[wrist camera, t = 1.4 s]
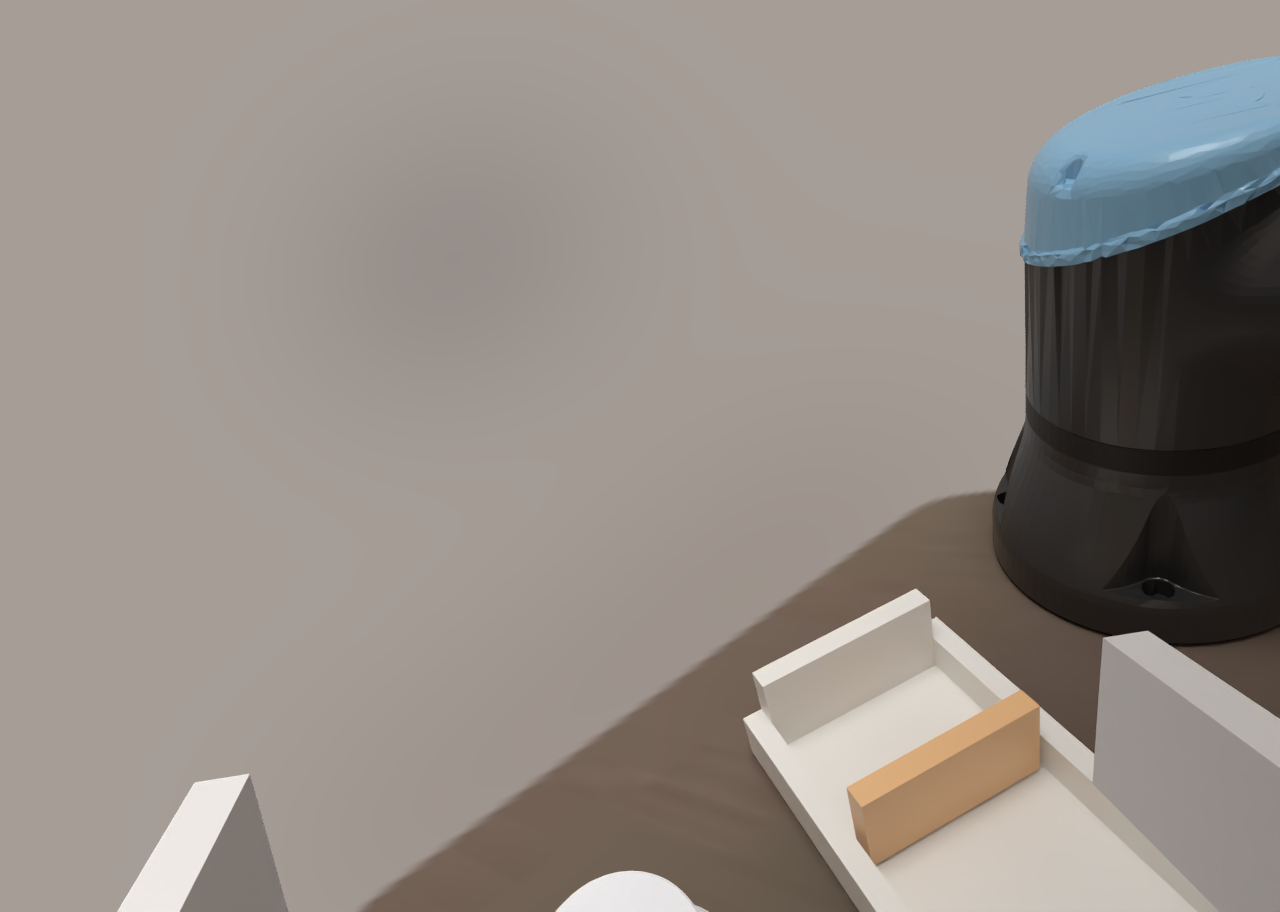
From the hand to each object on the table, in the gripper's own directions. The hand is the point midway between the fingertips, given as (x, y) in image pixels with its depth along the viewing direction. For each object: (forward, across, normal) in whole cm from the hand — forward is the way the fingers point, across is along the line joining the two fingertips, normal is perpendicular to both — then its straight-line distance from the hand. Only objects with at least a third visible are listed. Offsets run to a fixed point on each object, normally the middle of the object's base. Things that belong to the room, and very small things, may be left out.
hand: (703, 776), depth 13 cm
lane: (+15, +13, -18) cm, 27 cm away
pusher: (+17, +13, -17) cm, 27 cm away
